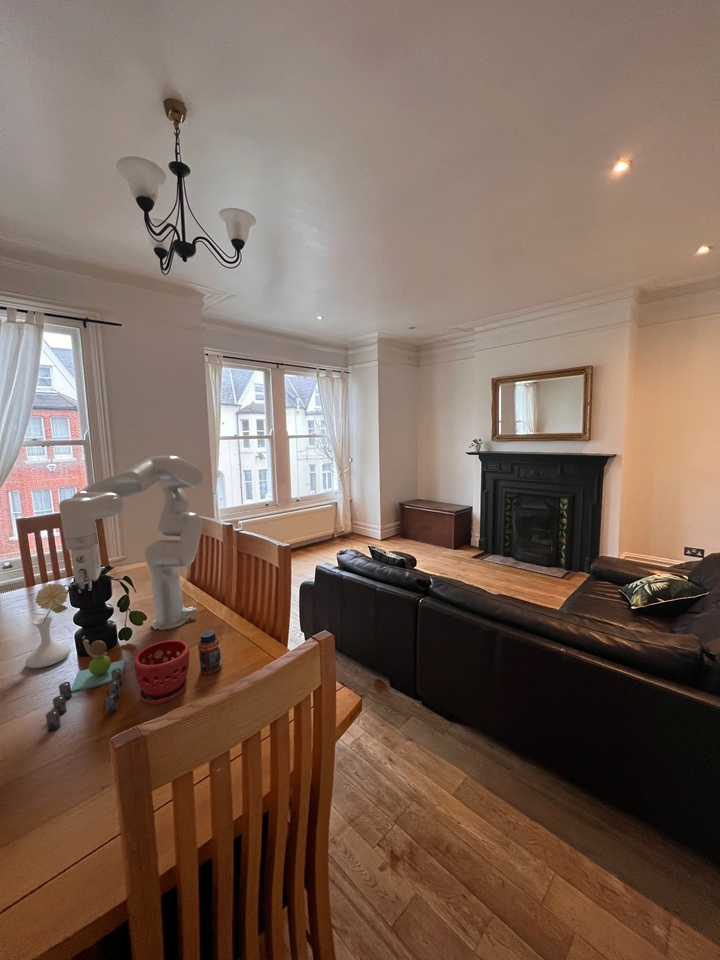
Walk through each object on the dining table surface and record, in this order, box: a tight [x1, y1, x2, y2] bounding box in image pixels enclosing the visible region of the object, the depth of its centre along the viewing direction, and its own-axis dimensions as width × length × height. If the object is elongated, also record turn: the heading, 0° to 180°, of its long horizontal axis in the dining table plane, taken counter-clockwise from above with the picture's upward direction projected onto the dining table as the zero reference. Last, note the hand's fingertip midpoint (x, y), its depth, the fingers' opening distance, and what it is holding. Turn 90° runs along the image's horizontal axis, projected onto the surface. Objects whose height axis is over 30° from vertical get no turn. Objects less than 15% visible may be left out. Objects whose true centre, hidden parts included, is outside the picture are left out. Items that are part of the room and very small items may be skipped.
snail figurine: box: [81, 635, 112, 675], centre depth 113 cm, size 5×6×12 cm
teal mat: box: [71, 659, 126, 694], centre depth 113 cm, size 12×10×1 cm
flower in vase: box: [24, 583, 72, 669], centre depth 121 cm, size 13×11×25 cm
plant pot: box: [134, 639, 190, 705], centre depth 104 cm, size 13×13×12 cm
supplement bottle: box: [197, 629, 223, 675], centre depth 114 cm, size 6×6×11 cm
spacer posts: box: [45, 668, 124, 733], centre depth 101 cm, size 14×14×4 cm
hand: (91, 597), depth 112 cm, fingers open, 9 cm apart
